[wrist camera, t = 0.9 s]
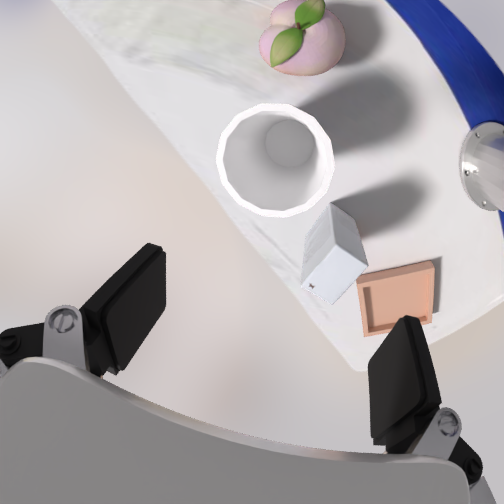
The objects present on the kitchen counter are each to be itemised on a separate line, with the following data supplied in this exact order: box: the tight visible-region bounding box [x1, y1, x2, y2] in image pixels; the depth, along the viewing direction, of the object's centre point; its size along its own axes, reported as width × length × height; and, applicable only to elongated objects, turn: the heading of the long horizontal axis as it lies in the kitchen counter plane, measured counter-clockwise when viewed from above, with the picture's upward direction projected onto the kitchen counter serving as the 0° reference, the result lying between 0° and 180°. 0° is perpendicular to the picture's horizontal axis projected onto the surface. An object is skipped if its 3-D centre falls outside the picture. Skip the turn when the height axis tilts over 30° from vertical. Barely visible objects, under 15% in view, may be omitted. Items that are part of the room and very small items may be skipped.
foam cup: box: [216, 103, 335, 218], centre depth 26 cm, size 10×9×13 cm
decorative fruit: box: [259, 0, 346, 76], centre depth 21 cm, size 9×8×10 cm
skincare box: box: [300, 203, 368, 305], centre depth 31 cm, size 6×4×12 cm
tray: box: [356, 260, 435, 337], centre depth 37 cm, size 12×11×2 cm
